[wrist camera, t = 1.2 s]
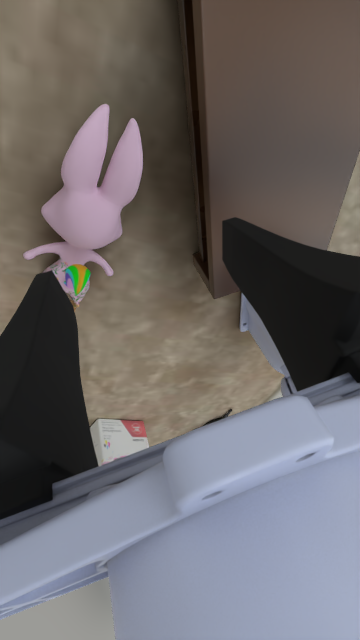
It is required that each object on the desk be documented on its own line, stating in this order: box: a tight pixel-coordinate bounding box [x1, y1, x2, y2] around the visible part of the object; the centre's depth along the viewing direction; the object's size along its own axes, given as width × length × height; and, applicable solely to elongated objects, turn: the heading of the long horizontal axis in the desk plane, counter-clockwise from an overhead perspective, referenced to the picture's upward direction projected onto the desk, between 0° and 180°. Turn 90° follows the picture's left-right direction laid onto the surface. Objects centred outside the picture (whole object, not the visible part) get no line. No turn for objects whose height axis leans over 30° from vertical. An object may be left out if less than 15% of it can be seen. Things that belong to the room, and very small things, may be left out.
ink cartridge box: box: [90, 419, 149, 466], centre depth 40 cm, size 9×5×15 cm, turn 50°
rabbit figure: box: [23, 104, 143, 312], centre depth 18 cm, size 6×6×15 cm
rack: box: [178, 0, 360, 299], centre depth 18 cm, size 18×10×5 cm, turn 8°
